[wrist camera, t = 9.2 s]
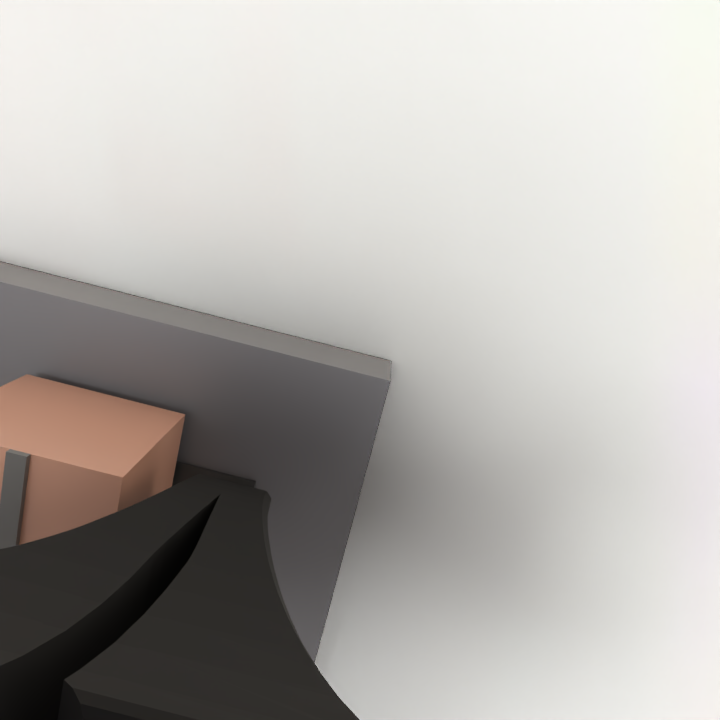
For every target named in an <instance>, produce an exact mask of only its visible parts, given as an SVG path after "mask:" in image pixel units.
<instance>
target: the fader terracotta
mask: <svg viewBox="0 0 720 720" xmlns="http://www.w3.org/2000/svg"><path fill="white" fill-rule="evenodd" d="M184 419H185V414H182V413H178V412H174V411H170V410H166V409H162V408H158V407H154V406H151V405H147V404H143V403H139V402H135V401H131V400H127V399H123V398H119V397H115V396H111V395H107V394H103V393H99V392H95V391H91V390H87V389H84V388H80V387H76V386H72V385H68V384H64V383H60V382H56V381H52V380H48V379H44V378H40V377H36V376H32V375H28V374H26V375H24V376H22V377H20V378H18V379H16V380H14V381H12V382H9V383H7V384H5V385H3V386H1V387H0V549H3V548H8V547H13V546H16V545H20V544H24V543H28V542H31V541H35V540H38V539H42V538H45V537H49V536H53V535H56V534H59V533H62V532H65V531H68V530H71V529H74V528H77V527H80V526H83V525H85V524H88V523H90V522H93V521H95V520H98V519H100V518H103V517H105V516H108V515H110V514H113V513H115V512H118V511H120V510H123V509H125V508H128V507H130V506H132V505H134V504H136V503H138V502H141V501H143V500H145V499H147V498H149V497H151V496H153V495H156V494H158V493H160V492H162V491H164V490H166V489H168V488H170V487H172V483H173V477H174V472H175V467H176V461H177V456H178V451H179V446H180V440H181V435H182V430H183V424H184Z"/></svg>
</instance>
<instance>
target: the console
mask: <svg viewBox="0 0 720 720" xmlns="http://www.w3.org/2000/svg"><path fill="white" fill-rule="evenodd" d="M26 374H28V375H32V376H36V377H40V378H44V379H48V380H52V381H56V382H60V383H64V384H68V385H72V386H76V387H80V388H84V389H87V390H91V391H95V392H99V393H103V394H107V395H111V396H115V397H119V398H123V399H127V400H131V401H135V402H139V403H143V404H147V405H151V406H154V407H158V408H162V409H166V410H170V411H174V412H178V413H182V414H185V419H184V424H183V430H182V435H181V440H180V446H179V451H178V456H177V461H176V467H175V472H174V477H173V483H172V486H174V485H176V484H178V483H180V482H182V481H184V480H186V479H188V478H190V477H193V476H195V475H197V474H202V475H206V476H210V477H214V478H218V479H222V480H226V481H230V482H233V483H237V484H241V485H245V486H249V487H253V488H257V489H261V490H265V491H267V492H268V494H269V495H270V497H271V503H270V507H269V512H268V536H269V543H270V549H271V556H272V560H273V565H274V569H275V573H276V577H277V581H278V584H279V588H280V591H281V594H282V597H283V600H284V603H285V605H286V608H287V610H288V613H289V615H290V618H291V620H292V622H293V624H294V626H295V629H296V631H297V633H298V635H299V637H300V639H301V641H302V643H303V645H304V646H305V648H306V650H307V651H308V653H309V655H310V656H311V658H312V660H313V661H314V662H315V659H316V655H317V651H318V648H319V644H320V640H321V636H322V633H323V629H324V625H325V622H326V618H327V614H328V610H329V607H330V603H331V599H332V596H333V592H334V588H335V585H336V581H337V577H338V573H339V570H340V566H341V562H342V559H343V555H344V551H345V547H346V544H347V540H348V536H349V533H350V529H351V525H352V522H353V518H354V514H355V510H356V507H357V503H358V499H359V496H360V492H361V488H362V484H363V481H364V477H365V473H366V470H367V466H368V462H369V459H370V455H371V451H372V447H373V444H374V440H375V436H376V433H377V429H378V425H379V421H380V418H381V414H382V410H383V407H384V403H385V399H386V395H387V392H388V388H389V384H390V380H391V361H389V360H385V359H381V358H377V357H373V356H369V355H365V354H361V353H357V352H354V351H350V350H346V349H342V348H338V347H334V346H330V345H326V344H322V343H318V342H314V341H310V340H306V339H302V338H299V337H295V336H291V335H287V334H283V333H279V332H275V331H271V330H267V329H263V328H259V327H255V326H251V325H247V324H243V323H240V322H236V321H232V320H228V319H224V318H220V317H216V316H212V315H208V314H204V313H200V312H196V311H192V310H188V309H184V308H181V307H177V306H173V305H169V304H165V303H161V302H157V301H153V300H149V299H145V298H141V297H137V296H133V295H129V294H126V293H122V292H118V291H114V290H110V289H106V288H102V287H98V286H94V285H90V284H86V283H82V282H78V281H74V280H70V279H67V278H63V277H59V276H55V275H51V274H47V273H43V272H39V271H35V270H31V269H27V268H23V267H19V266H15V265H12V264H8V263H4V262H0V387H1V386H3V385H5V384H7V383H9V382H12V381H14V380H16V379H18V378H20V377H22V376H24V375H26Z"/></svg>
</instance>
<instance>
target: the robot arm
mask: <svg viewBox="0 0 720 720" xmlns="http://www.w3.org/2000/svg"><path fill="white" fill-rule="evenodd" d="M270 503H271V497H270V495H269V494H268V492H267V491H265V490H261V489H257V488H253V487H249V486H245V485H241V484H237V483H233V482H230V481H226V480H222V479H218V478H214V477H210V476H206V475H202V474H197V475H195V476H193V477H190V478H188V479H186V480H184V481H182V482H180V483H178V484H176V485H174V486H172V487H170V488H168V489H166V490H164V491H162V492H160V493H158V494H156V495H153V496H151V497H149V498H147V499H145V500H143V501H141V502H138V503H136V504H134V505H132V506H130V507H128V508H125V509H123V510H120V511H118V512H115V513H113V514H110V515H108V516H105V517H103V518H100V519H98V520H95V521H93V522H90V523H88V524H85V525H83V526H80V527H77V528H74V529H71V530H68V531H65V532H62V533H59V534H56V535H53V536H49V537H45V538H42V539H38V540H35V541H31V542H28V543H24V544H20V545H16V546H13V547H8V548H3V549H0V720H359V719H358V718H357V717H356V716H355V714H354V713H353V712H352V711H351V710H350V709H349V708H348V707H347V706H346V705H345V704H344V703H343V702H342V700H341V699H340V698H339V697H338V696H337V695H336V693H335V692H334V691H333V689H332V688H331V687H330V685H329V684H328V683H327V681H326V680H325V679H324V677H323V676H322V675H321V673H320V671H319V670H318V668H317V666H316V665H315V663H314V661H313V660H312V658H311V656H310V655H309V653H308V651H307V650H306V648H305V646H304V645H303V643H302V641H301V639H300V637H299V635H298V633H297V631H296V629H295V626H294V624H293V622H292V620H291V618H290V615H289V613H288V610H287V608H286V605H285V603H284V600H283V597H282V594H281V591H280V588H279V584H278V581H277V577H276V573H275V569H274V565H273V560H272V556H271V549H270V543H269V536H268V512H269V507H270Z"/></svg>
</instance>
